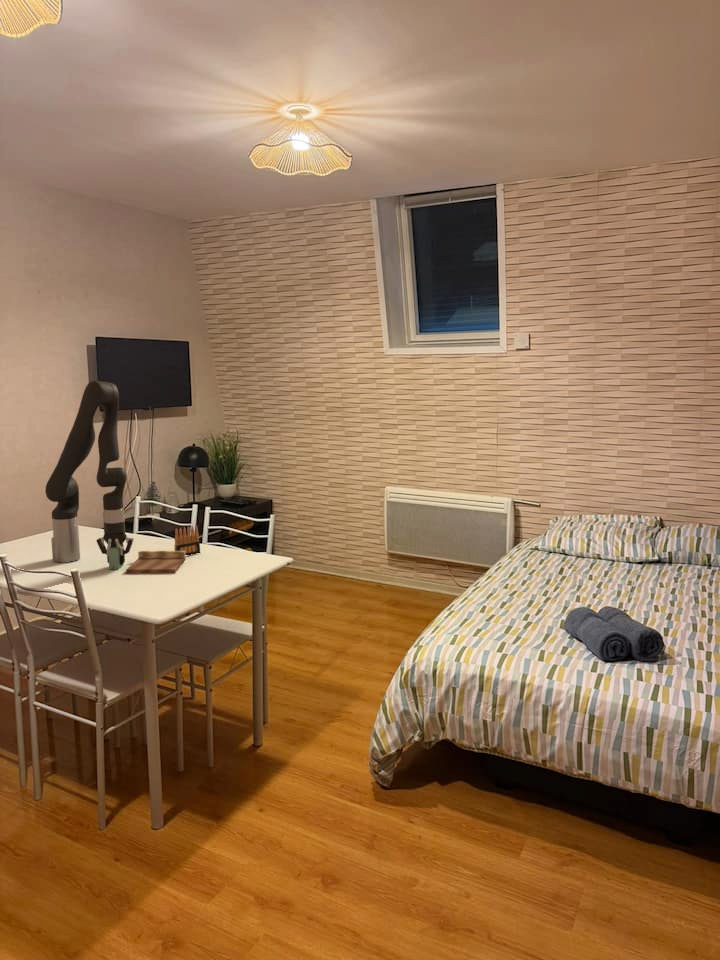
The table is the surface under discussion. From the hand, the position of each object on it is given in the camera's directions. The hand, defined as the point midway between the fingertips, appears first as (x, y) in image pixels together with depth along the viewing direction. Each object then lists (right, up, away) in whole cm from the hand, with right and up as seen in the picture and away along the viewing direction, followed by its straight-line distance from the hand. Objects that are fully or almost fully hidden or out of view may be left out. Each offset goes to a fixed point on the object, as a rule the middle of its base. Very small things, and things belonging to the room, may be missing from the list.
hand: (116, 564), depth 256 cm
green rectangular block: (0, -1, 0) cm, 1 cm away
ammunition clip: (+23, +1, +18) cm, 29 cm away
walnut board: (+15, -1, +1) cm, 15 cm away
